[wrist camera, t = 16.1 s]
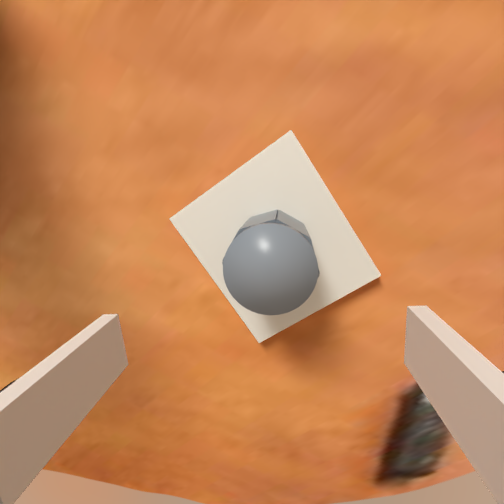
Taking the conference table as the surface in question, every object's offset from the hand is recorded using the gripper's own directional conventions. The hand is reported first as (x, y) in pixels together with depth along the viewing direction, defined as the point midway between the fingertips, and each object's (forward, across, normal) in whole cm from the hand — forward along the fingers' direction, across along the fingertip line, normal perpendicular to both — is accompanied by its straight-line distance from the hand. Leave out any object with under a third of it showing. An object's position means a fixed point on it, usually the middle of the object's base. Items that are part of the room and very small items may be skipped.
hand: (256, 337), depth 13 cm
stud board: (+21, 0, 0) cm, 21 cm away
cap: (+19, 0, 0) cm, 19 cm away
